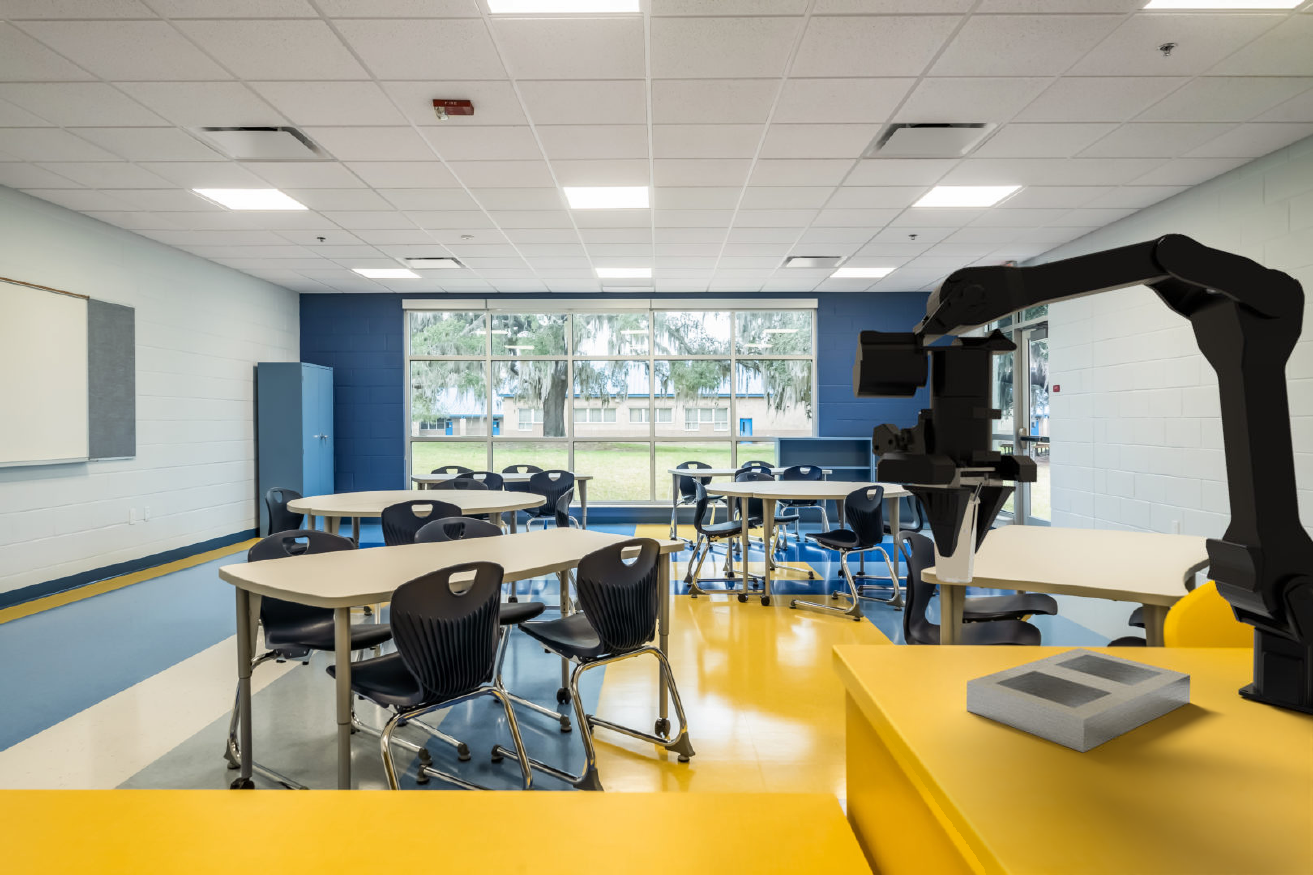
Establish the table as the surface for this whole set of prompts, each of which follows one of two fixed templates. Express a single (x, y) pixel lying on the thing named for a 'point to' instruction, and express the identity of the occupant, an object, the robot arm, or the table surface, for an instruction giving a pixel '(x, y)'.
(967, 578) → the milkshake
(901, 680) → the table surface
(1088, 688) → the block
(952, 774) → the table surface
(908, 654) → the table surface
